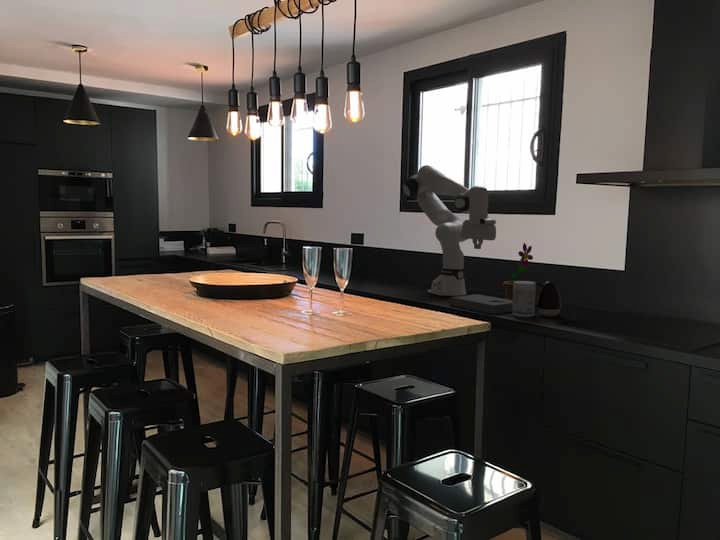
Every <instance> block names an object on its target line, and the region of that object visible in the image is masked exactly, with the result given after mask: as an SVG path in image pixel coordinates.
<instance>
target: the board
mask: <svg viewBox="0 0 720 540" xmlns="http://www.w3.org/2000/svg"><path fill="white" fill-rule="evenodd" d="M494 302H500V303H494ZM449 303H450V305H456V306H460V307H466V308H470V309H474V310H473V311H475V310H478V311H477V312H479V311H482V312H481V313H484V312H486V314H489V313H492V314H491V315H498V314H497V313H500V314H505V313H506V312H508V313H512V308H513V300H508V299H506V298H502V297H501V298H500V297H496V296H488V295H484V294H466V295H460V296H450V302H449ZM460 307H459V308H460ZM470 309H469V310H470Z"/></svg>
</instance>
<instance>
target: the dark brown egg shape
mask: <svg viewBox="0 0 720 540" xmlns="http://www.w3.org/2000/svg"><path fill="white" fill-rule="evenodd" d="M536 286H539V287H541V288H540V291H539V292H538V297H537V300H536V308H537V311H538V313H539V315H541V316H543V317H547V318H548V317H549V318H550V317H557V315H559V313H560V311H561V309H562V300H561V299H562V297H561V295H560V294H561V293H560V291H559V288H558V286H557V284H556V283H555V282H554V281H551V280H547V281H546V282H544V283H541V282H537V283H536Z"/></svg>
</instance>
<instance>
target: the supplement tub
mask: <svg viewBox="0 0 720 540" xmlns="http://www.w3.org/2000/svg"><path fill="white" fill-rule="evenodd" d="M514 281H515V282H514V284H513V308H512V312H511V314H512V315H513V316H514V317H517V318H519V317H520V318H533V317H534V316H535V314H536V293H537V292H536V290H537V287H536V286H537V283H536V282H535V281H532V280H531V281H530V280H519V281H517V280H514Z"/></svg>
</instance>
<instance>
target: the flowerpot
mask: <svg viewBox="0 0 720 540" xmlns="http://www.w3.org/2000/svg"><path fill="white" fill-rule="evenodd" d="M531 252H532V245H529V246H528V247H527V244H526V242H524V243H523V244H522V251H521V250H520V251H518V253H517V254H518V257H520V260H519V261H518V266H517V270H516V271H517V272H516V273H513V274H512V275H511V278H512V279H516V280H509V281H507V280H506V281H503V282H502V287H503V288H504V291H505V299H508V300H513V284H514V282H515V281H520V273H525V272H527V271H529V270H530V268H529V261H532V260H533V259H534V257H533V255H532V254H530V253H531Z"/></svg>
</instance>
